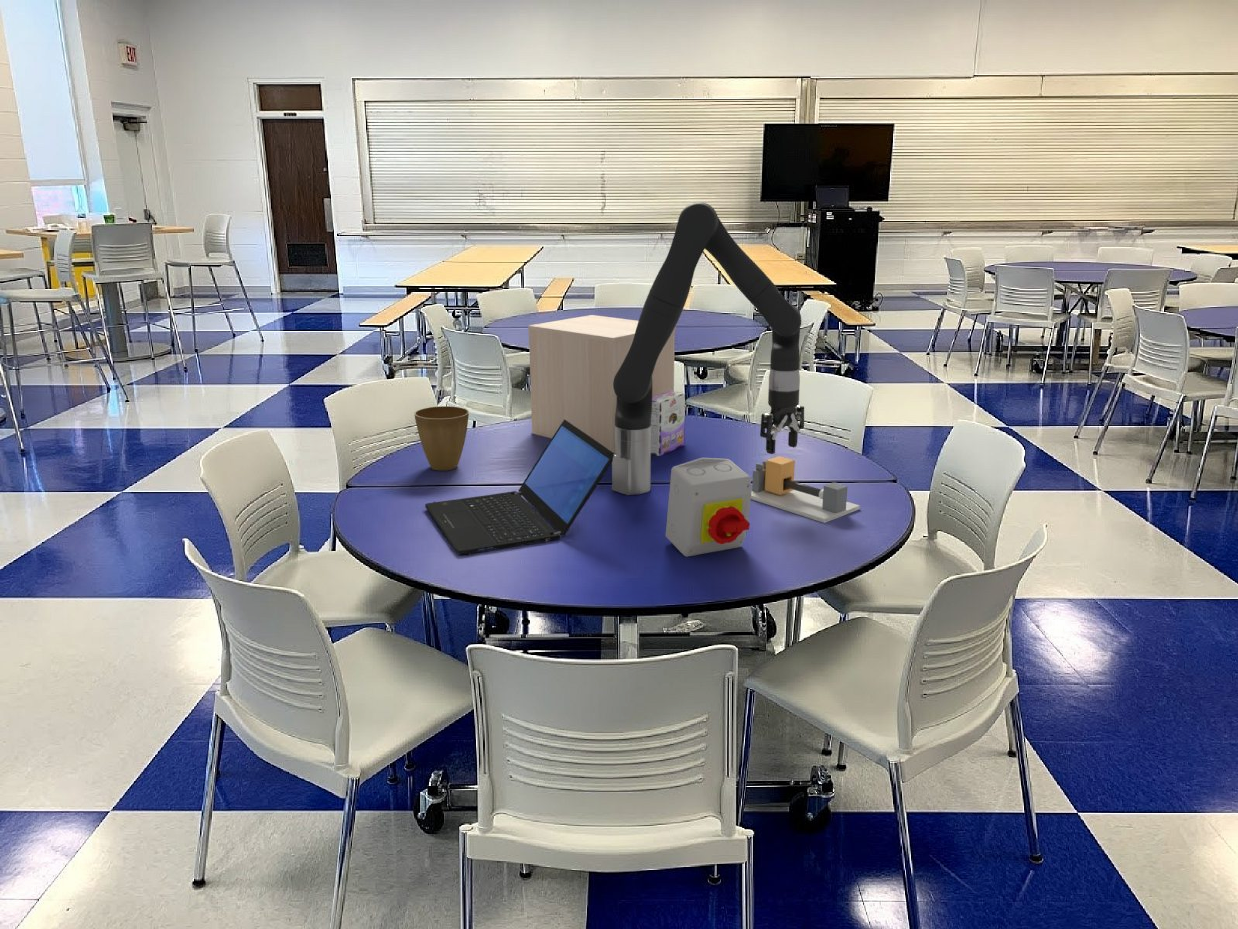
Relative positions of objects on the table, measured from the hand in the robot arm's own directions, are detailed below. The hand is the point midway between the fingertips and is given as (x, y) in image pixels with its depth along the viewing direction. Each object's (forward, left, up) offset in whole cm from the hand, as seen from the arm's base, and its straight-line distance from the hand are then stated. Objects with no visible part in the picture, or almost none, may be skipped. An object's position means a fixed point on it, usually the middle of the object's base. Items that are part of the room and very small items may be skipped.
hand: (781, 449), depth 237 cm
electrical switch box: (-39, -13, -13) cm, 43 cm away
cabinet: (+6, +76, -13) cm, 77 cm away
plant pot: (-50, +79, -13) cm, 94 cm away
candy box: (+8, +50, -13) cm, 52 cm away
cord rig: (0, -7, -12) cm, 14 cm away
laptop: (-60, +31, -13) cm, 68 cm away
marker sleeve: (0, 0, -11) cm, 11 cm away
